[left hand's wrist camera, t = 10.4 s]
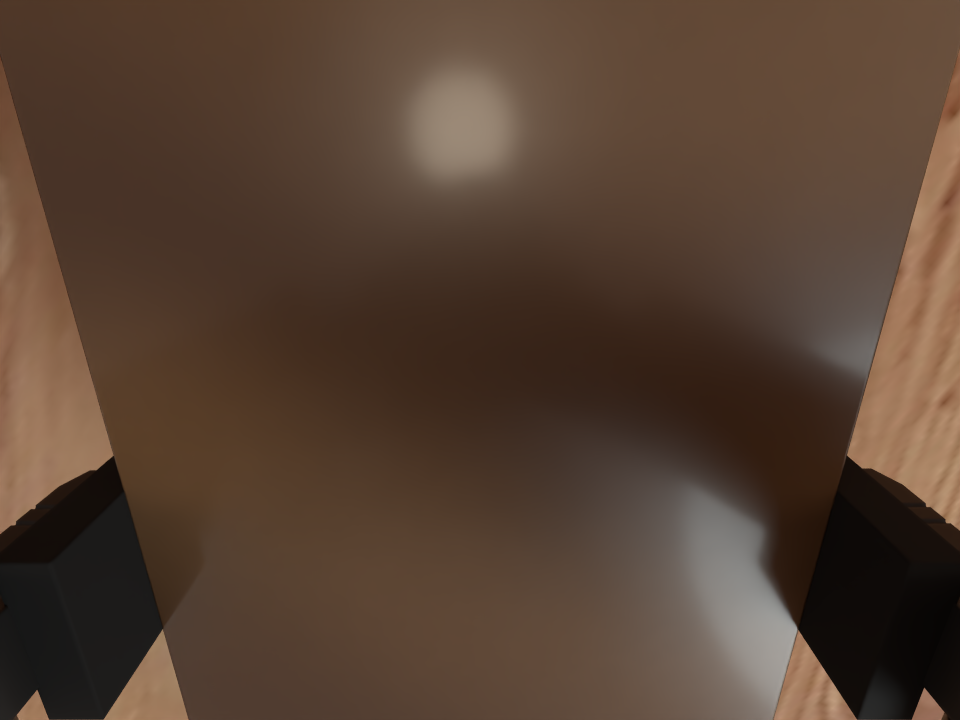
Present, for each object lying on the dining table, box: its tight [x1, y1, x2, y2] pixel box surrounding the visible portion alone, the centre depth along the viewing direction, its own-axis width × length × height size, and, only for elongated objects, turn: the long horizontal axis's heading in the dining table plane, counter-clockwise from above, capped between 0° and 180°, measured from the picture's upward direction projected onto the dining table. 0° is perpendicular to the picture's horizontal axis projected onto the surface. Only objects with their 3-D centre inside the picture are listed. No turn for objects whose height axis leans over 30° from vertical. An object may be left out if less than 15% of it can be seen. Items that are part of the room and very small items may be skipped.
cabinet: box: [0, 0, 960, 720], centre depth 11 cm, size 19×10×8 cm, turn 0°
